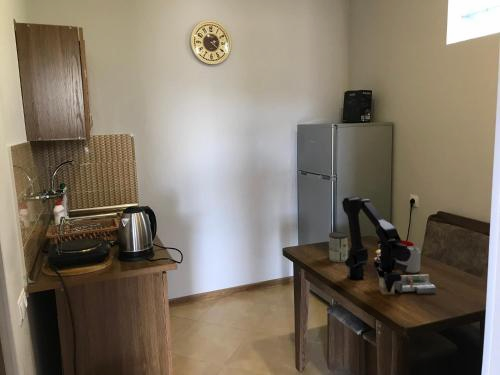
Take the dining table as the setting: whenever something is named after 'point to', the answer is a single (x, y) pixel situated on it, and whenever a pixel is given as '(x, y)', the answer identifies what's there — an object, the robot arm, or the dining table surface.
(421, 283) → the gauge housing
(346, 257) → the coffee can
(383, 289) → the block
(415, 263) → the can
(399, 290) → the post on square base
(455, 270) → the dining table surface
